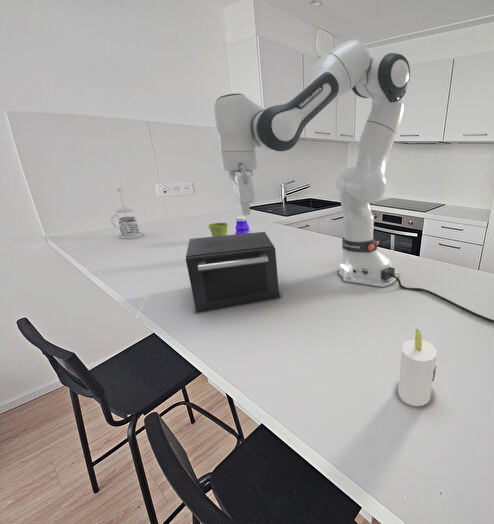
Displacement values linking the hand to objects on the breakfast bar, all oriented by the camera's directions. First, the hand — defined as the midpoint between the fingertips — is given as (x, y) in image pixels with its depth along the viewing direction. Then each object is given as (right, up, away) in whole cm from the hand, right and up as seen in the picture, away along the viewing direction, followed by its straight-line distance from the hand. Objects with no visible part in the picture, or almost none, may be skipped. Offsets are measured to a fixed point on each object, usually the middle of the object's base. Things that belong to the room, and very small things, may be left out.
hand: (246, 214), depth 84 cm
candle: (+42, -40, -25) cm, 63 cm away
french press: (-88, 0, +74) cm, 115 cm away
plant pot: (-37, -3, +68) cm, 77 cm away
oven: (-9, -23, +16) cm, 29 cm away
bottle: (-17, -11, +48) cm, 52 cm away
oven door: (-4, -27, +5) cm, 28 cm away
